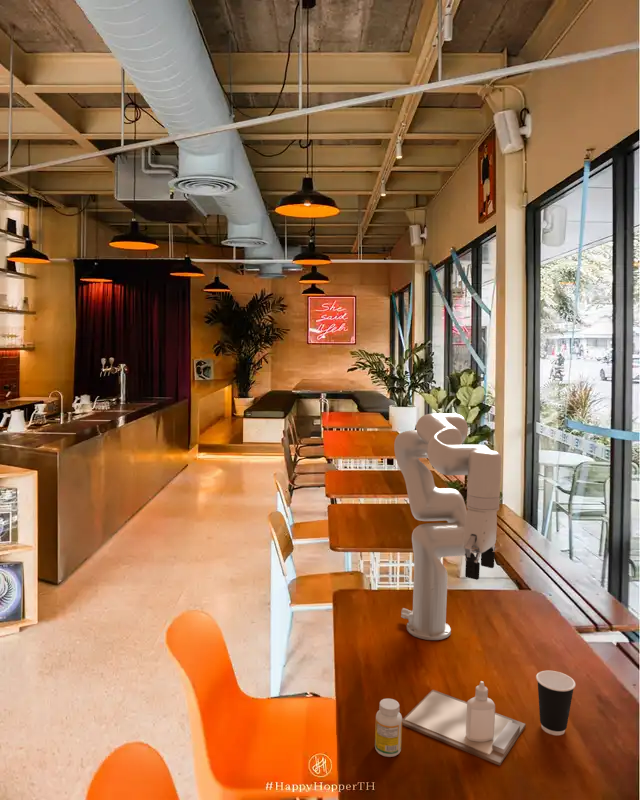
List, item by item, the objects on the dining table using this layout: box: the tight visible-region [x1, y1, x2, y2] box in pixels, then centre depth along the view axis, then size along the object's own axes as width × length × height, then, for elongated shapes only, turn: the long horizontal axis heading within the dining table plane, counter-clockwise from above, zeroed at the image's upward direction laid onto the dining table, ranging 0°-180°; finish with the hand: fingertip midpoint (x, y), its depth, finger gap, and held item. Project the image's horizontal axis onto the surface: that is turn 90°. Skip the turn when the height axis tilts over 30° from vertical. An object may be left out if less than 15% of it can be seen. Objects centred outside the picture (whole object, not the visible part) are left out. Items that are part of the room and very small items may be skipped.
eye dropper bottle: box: [466, 680, 496, 742], centre depth 127 cm, size 4×6×12 cm
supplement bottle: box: [374, 698, 403, 758], centre depth 124 cm, size 5×5×10 cm
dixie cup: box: [535, 670, 576, 736], centre depth 132 cm, size 8×8×11 cm
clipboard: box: [402, 689, 526, 767], centre depth 133 cm, size 22×16×2 cm
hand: (479, 572), depth 147 cm, fingers open, 9 cm apart
